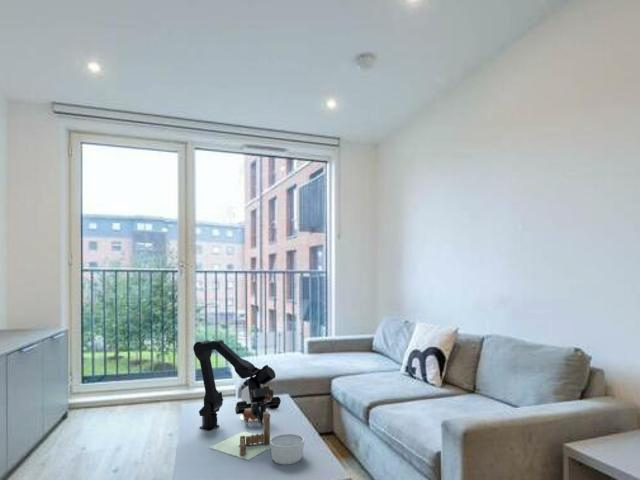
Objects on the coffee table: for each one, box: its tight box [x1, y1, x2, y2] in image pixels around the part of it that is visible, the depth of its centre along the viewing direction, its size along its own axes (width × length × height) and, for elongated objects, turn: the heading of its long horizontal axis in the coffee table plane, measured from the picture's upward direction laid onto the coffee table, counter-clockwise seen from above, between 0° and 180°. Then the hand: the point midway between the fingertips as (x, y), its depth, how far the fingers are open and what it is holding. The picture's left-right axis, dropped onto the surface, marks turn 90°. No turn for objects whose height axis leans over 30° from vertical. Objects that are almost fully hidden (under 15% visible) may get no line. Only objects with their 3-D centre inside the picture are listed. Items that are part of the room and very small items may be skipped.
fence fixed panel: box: [240, 436, 245, 456], centre depth 165 cm, size 10×2×4 cm, turn 11°
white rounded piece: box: [239, 384, 263, 423], centre depth 204 cm, size 12×11×15 cm
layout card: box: [209, 431, 272, 461], centre depth 171 cm, size 21×20×1 cm
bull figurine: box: [241, 407, 270, 428], centre depth 193 cm, size 4×13×8 cm, turn 78°
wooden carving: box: [261, 385, 275, 401], centre depth 222 cm, size 16×5×10 cm, turn 50°
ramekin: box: [270, 433, 305, 466], centre depth 158 cm, size 13×13×7 cm
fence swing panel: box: [246, 413, 271, 445], centre depth 171 cm, size 10×3×11 cm, turn 107°
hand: (261, 424), depth 172 cm, fingers closed
